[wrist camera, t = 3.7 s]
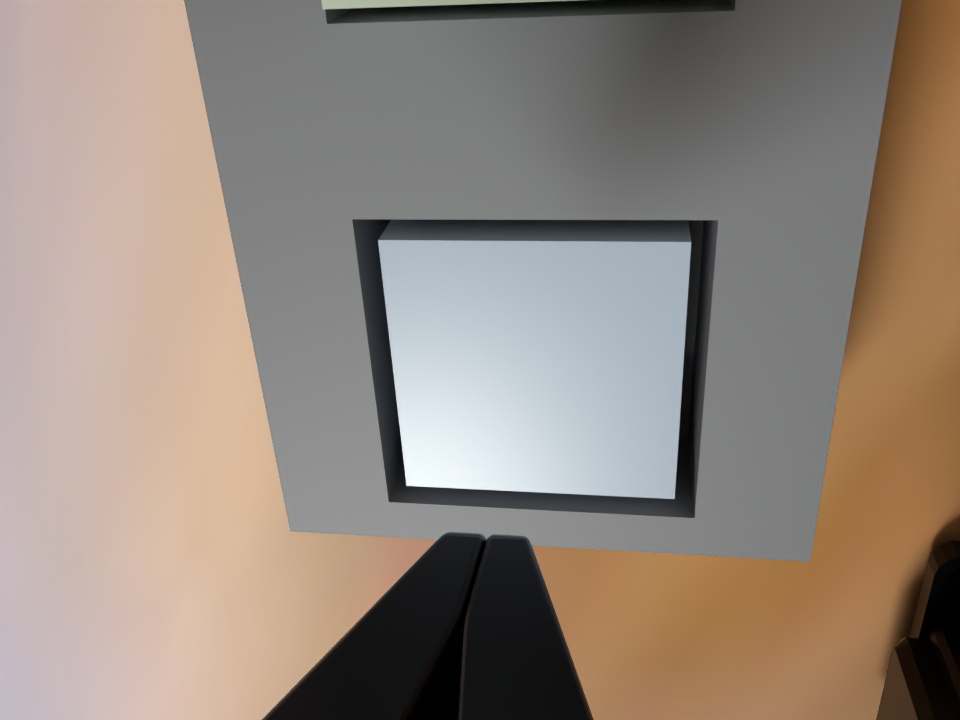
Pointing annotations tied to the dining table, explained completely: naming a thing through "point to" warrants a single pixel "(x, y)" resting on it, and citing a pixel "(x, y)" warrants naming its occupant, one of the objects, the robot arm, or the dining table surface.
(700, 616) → the dining table surface
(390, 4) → the sage button
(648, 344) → the slate blue button
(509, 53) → the button panel
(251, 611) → the dining table surface
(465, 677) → the robot arm
